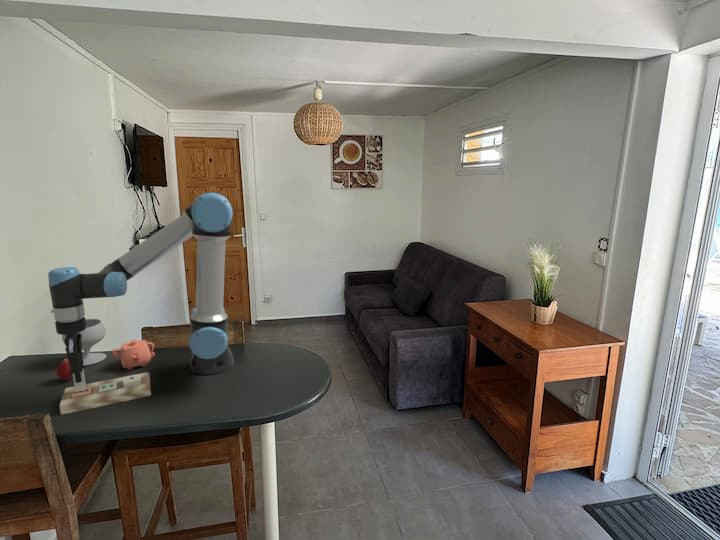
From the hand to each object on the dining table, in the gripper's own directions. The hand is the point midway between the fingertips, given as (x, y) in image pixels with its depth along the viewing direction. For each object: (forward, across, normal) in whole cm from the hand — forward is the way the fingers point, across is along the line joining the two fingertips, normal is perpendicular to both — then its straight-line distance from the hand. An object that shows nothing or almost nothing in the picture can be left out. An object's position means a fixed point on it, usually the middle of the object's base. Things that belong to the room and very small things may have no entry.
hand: (80, 390), depth 128 cm
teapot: (+4, -21, +15) cm, 26 cm away
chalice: (+4, -35, -1) cm, 35 cm away
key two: (+4, 0, +7) cm, 8 cm away
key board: (+4, 0, +7) cm, 8 cm away
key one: (+2, 0, +14) cm, 14 cm away
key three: (+4, 0, 0) cm, 4 cm away
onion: (+4, -19, -6) cm, 20 cm away
